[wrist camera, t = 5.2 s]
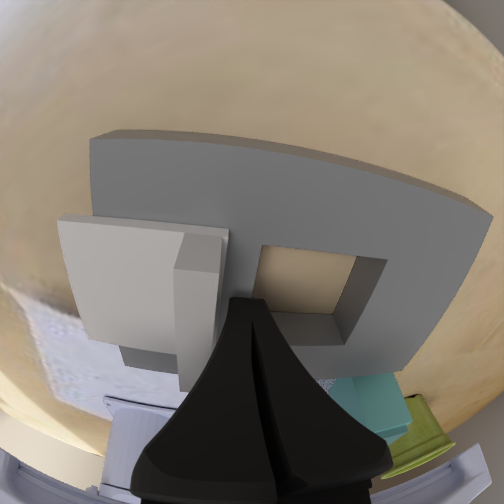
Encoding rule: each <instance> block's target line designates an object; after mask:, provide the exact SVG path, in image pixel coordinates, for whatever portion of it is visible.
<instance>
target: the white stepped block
mask: <svg viewBox="0 0 504 504" xmlns="http://www.w3.org/2000/svg"><path fill="white" fill-rule="evenodd" d="M57 227H58V232H59V238H60V243H61V248H62V252H63V257H64V261H65V265H66V269H67V273H68V277H69V281H70V285H71V288H72V292H73V295H74V298H75V302H76V305H77V308H78V311H79V314H80V317H81V320H82V323H83V325H84V328H85V331H86V334H87V336H88V339H91V340H96V341H100V342H105V343H110V344H114V345H120V346H125V347H130V348H136V349H142V350H148V351H154V352H161V353H168V354H176V355H177V365H178V376H179V386H180V391H181V392H190V391H191V389H192V387H193V386H194V384H195V383H196V381H197V380H198V378H199V376H200V375H201V373H202V371H203V369H204V368H205V366H206V364H207V362H208V360H209V358H210V356H211V354H212V352H213V350H214V348H215V346H216V337H217V328H218V319H219V310H220V301H221V292H222V284H223V276H224V268H225V260H226V252H227V244H228V234H229V229H225V228H216V227H207V226H197V225H188V224H178V223H168V222H157V221H147V220H136V219H125V218H113V217H101V216H89V215H76V214H63V215H62V216H61V217H60V218H59V219H58V220H57Z"/></svg>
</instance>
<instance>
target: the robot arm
mask: <svg viewBox="0 0 504 504" xmlns="http://www.w3.org/2000/svg"><path fill="white" fill-rule="evenodd" d="M103 402H104V404H105V405H106V407H107V409H108V410H109V412H110V413H111V415H112V416H113V420H112V425H111V430H110V434H109V439H108V445H107V450H106V455H105V461H104V467H103V474H102V481H101V483H102V484H101V483H100V488H99V491H98V490H97V489H98V487H96V486H94V485H92V486H91V487H89V488H87V489H86V491H84V490H81V489H78V488H76V487H73V486H71V485H68V484H66V483H64V482H61V481H59V480H56V479H54V478H52V477H50V476H48V475H46V474H44V473H42V472H40V471H38V470H36V469H34V468H32V467H31V466H28V465H27V464H25V463H23V462H21V461H20V460H18V459H17V458H16V457H14V456H13V455H11V454H9V453H8V452H6V451H5V450H3V449H1V448H0V504H469V503H470V502H471V501H472V500H473V499H474V498H475V497H476V496H477V495H478V494H480V493H481V492H482V491H483V490H484V489H485V488H487V487H488V486H489V485H490V484H491V483H492V481H491V477H490V474H489V471H488V468H487V465H486V462H485V459H484V456H483V453H482V451H481V448H480V445H479V444H478V443H477V444H475V445H474V446H472V447H470V448H469V449H467V450H466V451H464V452H462V453H461V454H459V455H458V456H456V457H454V458H453V459H451V460H450V461H448V462H446V463H444V464H443V465H441V466H439V467H437V468H435V469H433V470H431V471H429V472H427V473H425V474H423V475H421V476H419V477H416V478H414V479H412V480H410V481H407V482H405V483H402V484H400V485H398V486H395V487H393V488H390V489H387V490H384V491H381V492H379V493H376V494H373V495H369V490H368V489H369V488H372V482H371V478H374V477H375V476H378V475H380V474H382V473H384V472H386V471H388V470H390V469H391V468H392V467H393V465H394V463H393V460H392V456H391V452H390V449H389V447H388V444H387V442H386V440H384V439H383V438H381V437H380V436H378V435H377V434H375V433H374V432H372V431H371V430H369V429H368V428H366V427H365V426H363V425H362V424H361V423H360V422H358V421H357V420H356V419H355V418H353V417H352V416H351V415H350V414H348V413H347V412H346V411H345V410H344V409H343V408H342V407H341V406H340V405H339V404H338V403H337V402H335V401H334V400H333V399H332V398H331V397H330V396H329V395H328V394H327V393H326V392H325V391H324V390H323V388H322V387H321V386H320V385H319V384H318V383H317V382H316V381H315V379H314V378H313V377H312V376H311V375H310V373H309V372H308V371H307V370H306V368H305V367H304V366H303V364H302V363H301V362H300V360H299V359H298V357H297V356H296V355H295V353H294V352H293V350H292V349H291V347H290V346H289V344H288V342H287V341H286V339H285V338H284V336H283V334H282V333H281V331H280V329H279V327H278V326H277V324H276V322H275V320H274V318H273V316H272V314H271V312H270V310H269V308H268V306H267V304H266V302H265V301H264V299H255V298H243V297H231V298H229V304H228V311H227V317H226V320H225V323H224V326H223V329H222V331H221V334H220V337H219V339H218V341H217V344H216V346H215V348H214V350H213V352H212V354H211V356H210V358H209V360H208V362H207V364H206V366H205V368H204V369H203V371H202V373H201V375H200V376H199V378H198V380H197V381H196V383H195V384H194V386H193V387H192V389H191V391H190V392H189V394H188V395H187V397H186V398H185V399H184V401H183V402H182V404H181V405H180V406H179V407H178V409H177V410H172V409H165V408H159V407H152V406H147V405H141V404H136V403H131V402H126V401H122V400H117V399H113V398H109V397H103Z"/></svg>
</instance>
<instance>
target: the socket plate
mask: <svg viewBox="0 0 504 504" xmlns="http://www.w3.org/2000/svg"><path fill="white" fill-rule="evenodd" d="M90 183H91V199H92V211H93V216H101V217H113V218H125V219H136V220H147V221H157V222H168V223H178V224H188V225H197V226H207V227H216V228H225V229H229V234H228V244H227V252H226V260H225V268H224V276H223V284H222V292H221V301H220V310H219V319H218V328H217V337H216V344H217V341H218V339H219V337H220V334H221V331H222V329H223V326H224V323H225V320H226V317H227V311H228V304H229V298H231V297H243V298H251V297H252V292H253V287H254V282H255V278H256V273H257V268H258V263H259V258H260V253H261V248H262V245H268V246H277V247H286V248H295V249H304V250H312V251H321V252H330V253H338V254H347V255H355V256H357V259H356V261H355V264H354V266H353V269H352V271H351V274H350V276H349V278H348V281H347V283H346V286H345V288H344V290H343V293H342V295H341V297H340V299H339V302H338V304H337V306H336V308H335V311H334V313H333V314H306V313H286V312H271V314H272V316H273V318H274V320H275V322H276V324H277V326H278V327H279V329H280V331H281V333H282V334H283V336H284V338H285V339H286V341H287V342H288V344H289V346H290V347H291V349H292V350H293V352H294V353H295V355H296V356H297V357H298V359H299V360H300V362H301V363H302V364H303V366H304V367H305V368H306V370H307V371H308V372H309V373H310V375H311V376H312V377H313V378H314V379H315V380H317V379H334V378H347V377H357V376H367V375H375V374H383V373H390V372H397V371H402V370H403V369H404V367H405V366H406V365H407V364H408V363H409V361H410V360H411V359H412V358H413V356H414V355H415V354H416V352H417V351H418V350H419V349H420V347H421V346H422V345H423V343H424V342H425V341H426V339H427V338H428V336H429V335H430V334H431V332H432V331H433V329H434V328H435V326H436V325H437V323H438V322H439V320H440V319H441V317H442V316H443V314H444V313H445V311H446V310H447V308H448V307H449V305H450V303H451V302H452V300H453V298H454V297H455V295H456V293H457V292H458V290H459V288H460V286H461V285H462V283H463V281H464V279H465V277H466V276H467V274H468V272H469V270H470V268H471V266H472V264H473V262H474V260H475V258H476V256H477V254H478V252H479V250H480V248H481V245H482V243H483V241H484V239H485V236H486V234H487V232H488V229H489V227H490V225H491V222H492V220H493V217H494V216H492V215H491V214H490V213H488V212H487V211H485V210H484V209H482V208H481V207H480V206H478V205H477V204H475V203H474V202H472V201H471V200H469V199H467V198H465V197H463V196H461V195H458V194H456V193H453V192H451V191H448V190H446V189H443V188H441V187H438V186H436V185H433V184H430V183H428V182H425V181H422V180H419V179H416V178H413V177H411V176H408V175H405V174H401V173H398V172H395V171H392V170H389V169H386V168H382V167H379V166H376V165H372V164H369V163H365V162H361V161H358V160H354V159H350V158H346V157H342V156H338V155H334V154H330V153H325V152H321V151H316V150H312V149H307V148H302V147H297V146H292V145H286V144H281V143H275V142H269V141H262V140H256V139H249V138H242V137H234V136H225V135H216V134H206V133H194V132H180V131H161V130H115V131H112V132H109V133H106V134H103V135H100V136H97V137H95V138H92V139H90ZM119 348H120V351H121V355H122V358H123V361H124V364H125V366H130V367H135V368H141V369H146V370H153V371H159V372H166V373H173V374H178V365H177V355H176V354H168V353H161V352H154V351H148V350H142V349H136V348H130V347H125V346H120V345H119Z"/></svg>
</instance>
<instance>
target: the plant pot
mask: <svg viewBox="0 0 504 504" xmlns="http://www.w3.org/2000/svg"><path fill="white" fill-rule="evenodd" d="M404 400H405V402H406V405H407V407H408V410H409V412H410V415H411V417H412V420H413V421H412V422H411V423H410V424H409V425H407V429H408V432H407V433H405V434H404V435H403V436H401V437H400V438H398V439H397V440H396V441H394V442H393V443H391V444H390V445H388V447H389V449H390V452H391V456H392V460H393V463H394V465H393V467H392V468H391V469H390V470H388V471H386V472H384V473H383V475H382V476H381V479H385V478H389V477H392V476H394V475H397V474H400V473H403V472H405V471H408V470H410V469H412V468H415V467H417V466H419V465H421V464H423V463H425V462H427V461H429V460H431V459H433V458H435V457H437V456H438V455H440V454H442V453H443V452H445V451H446V450H448V449H450V448H451V447H452V446H454V445H455V444H456V443H455V441H454V442H452V441H451V440H450V438H449V437H448V435H447V434H445V433H444V432H443V430H442V428H441V427H440V425H439V423H438V422H437V420H436V418H435V417H434V415H433V413H432V412H431V410H430V408H429V407H428V405H427V403H426V402H425V400H424V399H423V397H422V396H421V395H416V396H415V397H414V398H405V399H404Z"/></svg>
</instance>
